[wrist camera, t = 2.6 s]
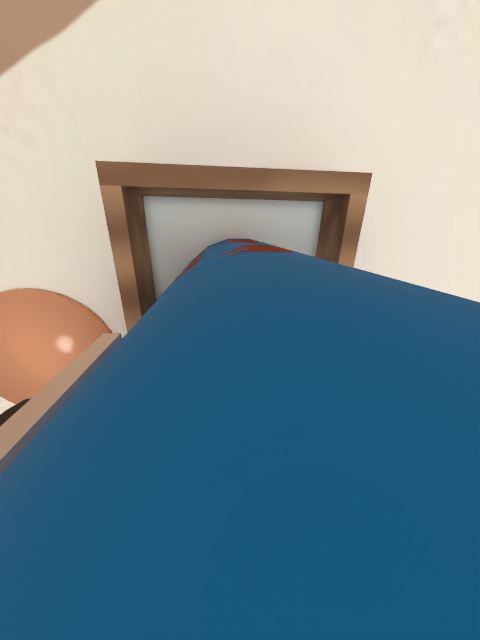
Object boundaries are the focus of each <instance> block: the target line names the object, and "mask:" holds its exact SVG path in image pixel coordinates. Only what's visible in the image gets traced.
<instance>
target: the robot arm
mask: <svg viewBox="0 0 480 640" xmlns="http://www.w3.org/2000/svg"><path fill="white" fill-rule="evenodd" d="M121 340H122V337H121V333H103V334H102V335H101V336H100V337H99V338H98V339H97V340H96V341H95V342H94V343H92V344H91V345H90V346H89V347H88V348H87V349H86V350H85V351H84V352H82V353H81V354H80V355H79V356H78V357H77V358H76V359H75V360H74V361H72V362H71V363H70V364H69V365H68V366H67V367H66V368H65V369H64V370H62V371H61V372H60V373H59V374H58V375H57V376H56V377H55V378H54V379H52V380H51V381H50V382H49V383H48V384H47V385H46V386H45V387H44V388H42V389H41V390H40V391H39V392H38V393H37V394H36V395H35V396H34V397H33V398H31V399H25V400H23V401H21V402H20V403H18V404H16V405H14V406H13V407H11V408H9V409H8V410H6V411H5V412H3V413H2V414H1V415H0V475H1V474H2V473H3V471H4V470H5V469H6V468H7V467H8V466H9V465H10V464H11V462H12V461H13V460H14V459H15V458H16V457H17V456H18V455H19V454H20V452H21V451H22V450H23V449H24V448H25V447H26V446H27V445H28V444H29V442H30V441H31V440H32V439H33V438H34V437H35V436H36V435H37V433H38V432H39V431H40V430H41V429H42V428H43V427H44V426H45V425H46V423H47V422H48V421H49V420H50V419H51V418H52V417H53V416H54V415H55V413H56V412H57V411H58V410H59V409H60V408H61V407H62V406H63V404H64V403H65V402H66V401H67V400H68V399H69V398H70V397H71V396H72V394H73V393H74V392H75V391H76V390H77V389H78V388H79V387H80V386H81V384H82V383H83V382H84V381H85V380H86V379H87V378H88V377H89V375H90V374H91V373H92V372H93V371H94V370H95V369H96V368H97V367H98V365H99V364H100V363H101V362H102V361H103V360H104V359H105V358H106V357H107V355H108V354H109V353H110V352H111V351H112V350H113V349H114V348H115V346H116V345H117V344H118V343H119V342H120V341H121Z"/></svg>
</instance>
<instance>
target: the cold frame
mask: <svg viewBox="0 0 480 640" xmlns="http://www.w3.org/2000/svg"><path fill="white" fill-rule="evenodd" d="M95 162H96V167H97V173H98V178H99V183H100V189H101V194H102V199H103V205H104V210H105V215H106V221H107V226H108V231H109V236H110V242H111V247H112V252H113V258H114V263H115V268H116V274H117V279H118V284H119V290H120V295H121V300H122V306H123V311H124V316H125V322H126V327H127V332H129V331H130V330H131V329H132V328H133V326H134V325H135V324H136V323H137V322H138V321H139V320H140V319H141V317H142V316H143V315H144V314H145V313H146V312H147V311H148V310H149V309H150V307H151V306H153V304H154V303H155V302H156V298H155V290H154V282H153V275H152V267H151V259H150V251H149V244H148V236H147V228H146V220H145V212H144V205H143V197H142V196H169V197H201V198H233V199H265V200H297V201H324V204H323V211H322V219H321V226H320V233H319V240H318V247H317V254H316V258H320V259H323V260H327V261H330V262H334V263H338V264H341V265H345V266H349V267H352V268H353V266H354V261H355V256H356V251H357V246H358V241H359V236H360V231H361V226H362V221H363V216H364V212H365V207H366V202H367V197H368V192H369V187H370V182H371V177H372V173H360V172H337V171H314V170H292V169H269V168H246V167H223V166H200V165H177V164H154V163H132V162H109V161H95Z"/></svg>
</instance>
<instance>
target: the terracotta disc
mask: <svg viewBox="0 0 480 640" xmlns="http://www.w3.org/2000/svg"><path fill="white" fill-rule="evenodd" d="M103 333H112V332H111V331H110V329H109V328H108V327H107V326H106V324H105V323H104V322H103V321H102V320H101V319H100V318H99V317H98V316H97V315H96V314H95V313H93V312H92V311H91V310H90V309H88V308H87V307H85V306H84V305H82V304H81V303H79V302H77V301H75V300H73V299H71V298H69V297H66V296H63V295H61V294H58V293H54V292H51V291H46V290H40V289H16V290H11V291H6V292H3V293H0V396H1V397H3V398H5V399H6V400H8V401H10V402H12V403H14V404H18V403H20V402H21V401H23V400H25V399H31V398H33V397H34V396H35V395H36V394H37V393H38V392H39V391H40V390H41V389H42V388H44V387H45V386H46V385H47V384H48V383H49V382H50V381H51V380H52V379H54V378H55V377H56V376H57V375H58V374H59V373H60V372H61V371H62V370H64V369H65V368H66V367H67V366H68V365H69V364H70V363H71V362H72V361H74V360H75V359H76V358H77V357H78V356H79V355H80V354H81V353H82V352H84V351H85V350H86V349H87V348H88V347H89V346H90V345H91V344H92V343H94V342H95V341H96V340H97V339H98V338H99V337H100V336H101V335H102V334H103Z"/></svg>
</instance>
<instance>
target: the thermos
mask: <svg viewBox="0 0 480 640" xmlns="http://www.w3.org/2000/svg"><path fill="white" fill-rule="evenodd" d="M0 640H480V302H476V301H472V300H469V299H465V298H461V297H458V296H454V295H450V294H447V293H443V292H440V291H436V290H432V289H429V288H425V287H421V286H418V285H414V284H410V283H407V282H403V281H400V280H396V279H392V278H389V277H385V276H381V275H378V274H374V273H370V272H367V271H363V270H360V269H356V268H352V267H349V266H345V265H341V264H338V263H334V262H330V261H327V260H323V259H320V258H316V257H312V256H309V255H305V254H301V253H298V252H294V251H291V250H287V249H283V248H280V247H276V246H272V245H269V244H265V243H261V242H258V241H254V240H251V239H227V240H224V241H221V242H219V243H216V244H213V245H211V246H208V247H207V248H206V249H205V250H204V251H203V252H202V253H200V254H199V255H198V256H197V257H196V258H195V259H194V260H193V261H192V262H191V263H190V264H189V265H188V266H187V267H186V268H185V270H184V271H183V272H182V273H181V274H180V275H179V276H178V277H177V278H176V280H175V281H174V282H173V283H172V284H171V285H170V286H169V287H168V288H167V290H166V291H165V292H164V293H163V294H162V295H161V296H160V297H159V299H158V300H157V301H156V302H155V303H154V304H153V306H151V307H150V309H149V310H148V311H147V312H146V313H145V314H144V315H143V316H142V317H141V319H140V320H139V321H138V322H137V323H136V324H135V325H134V326H133V328H132V329H131V330H130V331H129V332H128V333H127V334H126V335H125V336H124V338H123V339H122V340H121V341H120V342H119V343H118V344H117V345H116V346H115V348H114V349H113V350H112V351H111V352H110V353H109V354H108V355H107V357H106V358H105V359H104V360H103V361H102V362H101V363H100V364H99V365H98V367H97V368H96V369H95V370H94V371H93V372H92V373H91V374H90V375H89V377H88V378H87V379H86V380H85V381H84V382H83V383H82V384H81V386H80V387H79V388H78V389H77V390H76V391H75V392H74V393H73V394H72V396H71V397H70V398H69V399H68V400H67V401H66V402H65V403H64V404H63V406H62V407H61V408H60V409H59V410H58V411H57V412H56V413H55V415H54V416H53V417H52V418H51V419H50V420H49V421H48V422H47V423H46V425H45V426H44V427H43V428H42V429H41V430H40V431H39V432H38V433H37V435H36V436H35V437H34V438H33V439H32V440H31V441H30V442H29V444H28V445H27V446H26V447H25V448H24V449H23V450H22V451H21V452H20V454H19V455H18V456H17V457H16V458H15V459H14V460H13V461H12V462H11V464H10V465H9V466H8V467H7V468H6V469H5V470H4V471H3V473H2V474H1V475H0Z"/></svg>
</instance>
